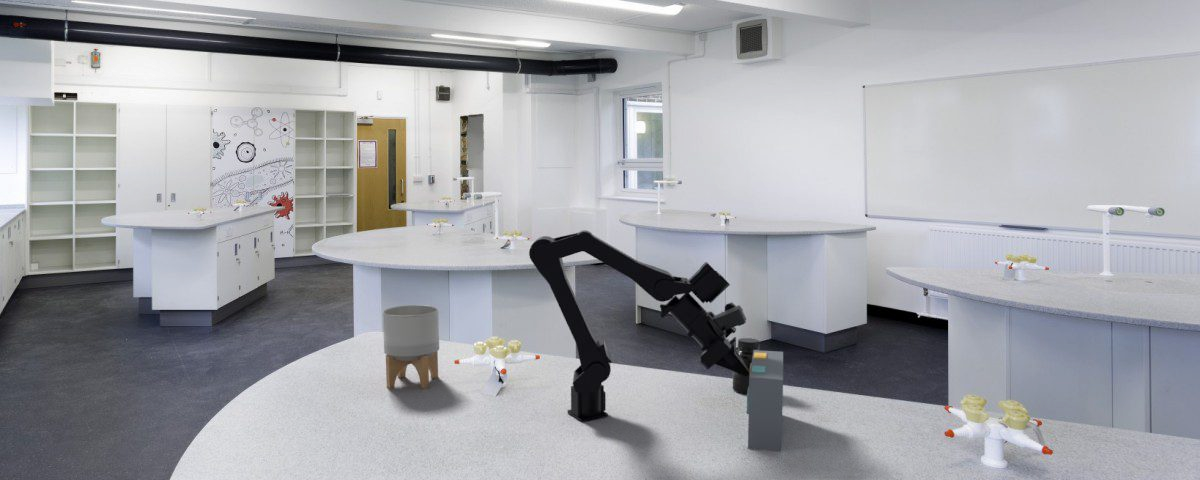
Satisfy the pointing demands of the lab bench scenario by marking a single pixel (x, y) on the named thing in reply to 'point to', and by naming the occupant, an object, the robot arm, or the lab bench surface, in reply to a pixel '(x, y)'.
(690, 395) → the lab bench surface
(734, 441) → the lab bench surface
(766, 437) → the button panel
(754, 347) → the supplement bottle
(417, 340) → the planter
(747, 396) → the teal button
